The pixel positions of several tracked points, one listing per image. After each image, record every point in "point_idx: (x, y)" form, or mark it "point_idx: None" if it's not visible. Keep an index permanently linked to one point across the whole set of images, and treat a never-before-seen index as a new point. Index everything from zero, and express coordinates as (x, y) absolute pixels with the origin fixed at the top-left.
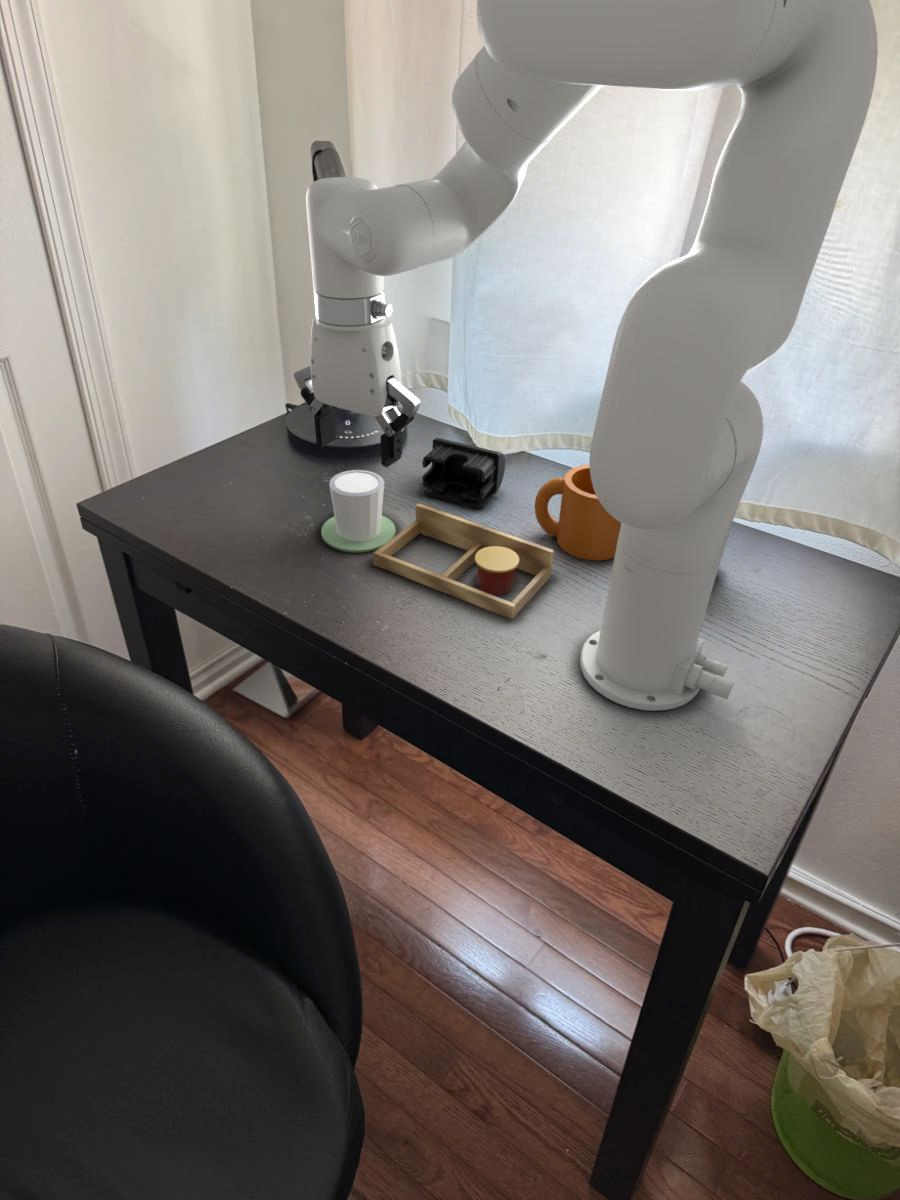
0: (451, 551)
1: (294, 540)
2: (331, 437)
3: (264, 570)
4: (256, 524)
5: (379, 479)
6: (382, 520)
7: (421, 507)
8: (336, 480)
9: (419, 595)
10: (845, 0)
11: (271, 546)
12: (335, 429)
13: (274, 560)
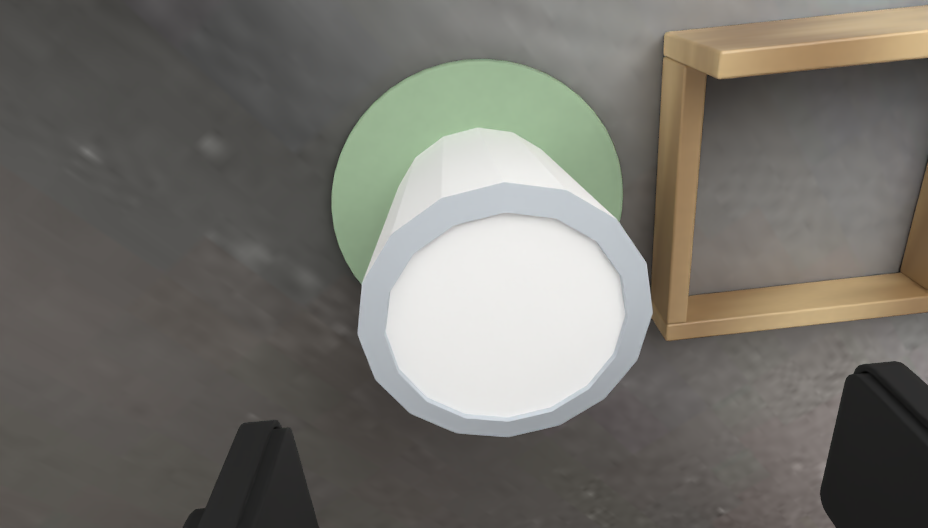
0: (856, 75)
1: (344, 373)
2: (293, 493)
3: (406, 504)
4: (168, 389)
5: (589, 231)
6: (509, 97)
7: (751, 75)
8: (405, 367)
9: (851, 335)
10: None
11: (319, 432)
12: (272, 492)
13: (388, 465)
